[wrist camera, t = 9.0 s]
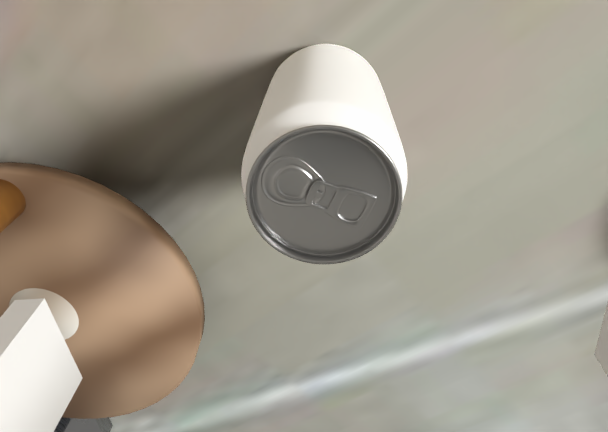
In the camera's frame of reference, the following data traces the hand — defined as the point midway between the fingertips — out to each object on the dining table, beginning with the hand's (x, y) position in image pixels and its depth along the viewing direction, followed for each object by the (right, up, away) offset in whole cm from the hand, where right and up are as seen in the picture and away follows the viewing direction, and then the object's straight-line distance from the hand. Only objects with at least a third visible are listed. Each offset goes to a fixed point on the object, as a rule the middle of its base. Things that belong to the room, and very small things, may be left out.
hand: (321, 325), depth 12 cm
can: (+1, +9, +16) cm, 19 cm away
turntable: (-17, -3, +21) cm, 27 cm away
